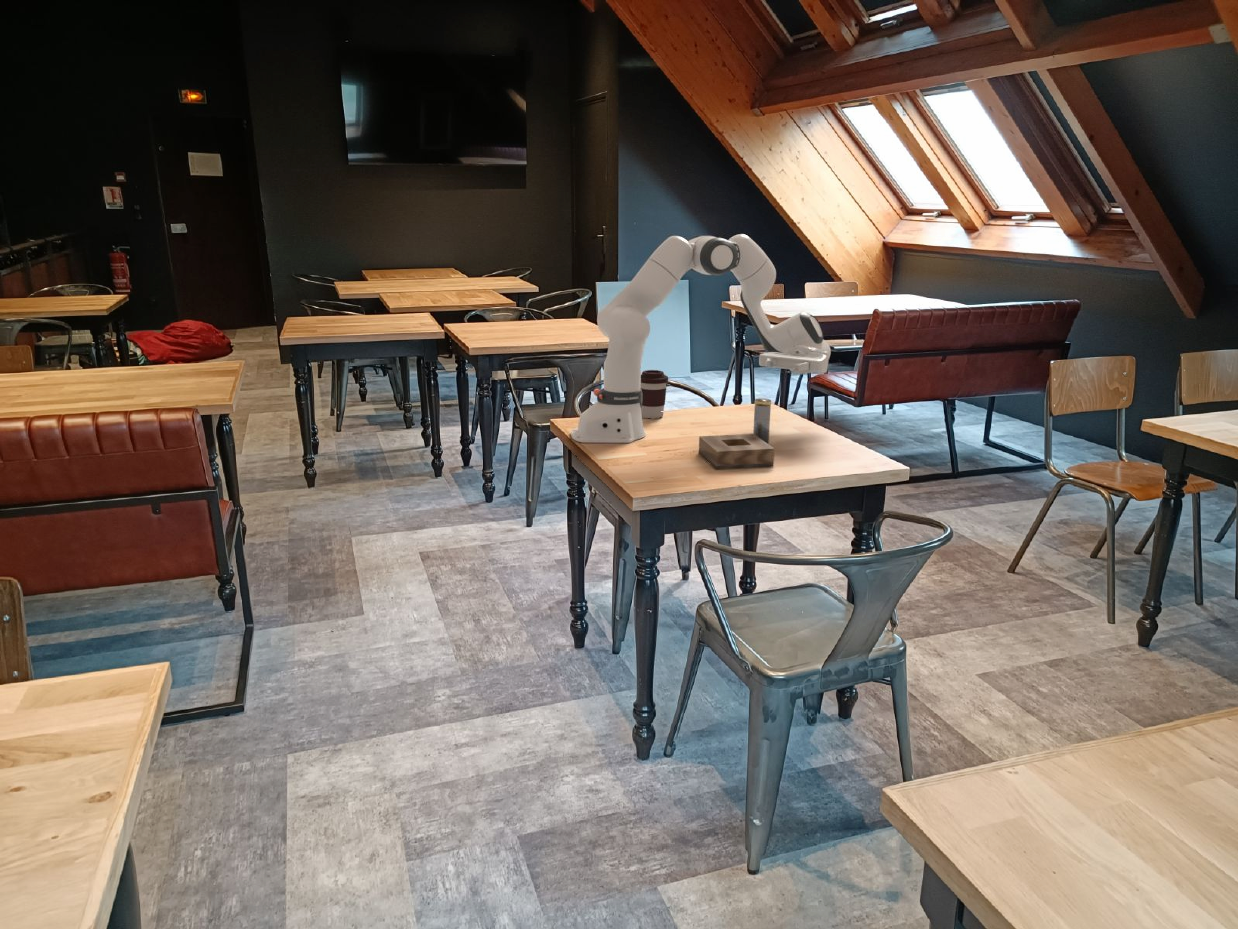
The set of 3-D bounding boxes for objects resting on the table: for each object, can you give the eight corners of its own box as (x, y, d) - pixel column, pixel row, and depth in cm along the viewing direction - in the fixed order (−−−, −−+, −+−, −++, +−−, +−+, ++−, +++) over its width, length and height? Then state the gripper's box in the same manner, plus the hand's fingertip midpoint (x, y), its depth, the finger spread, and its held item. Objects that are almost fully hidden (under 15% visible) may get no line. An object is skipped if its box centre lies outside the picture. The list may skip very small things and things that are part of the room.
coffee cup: (631, 414, 295) (632, 370, 291) (657, 412, 299) (658, 368, 295) (646, 421, 287) (646, 375, 282) (672, 418, 291) (673, 373, 287)
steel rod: (755, 450, 254) (758, 402, 250) (750, 445, 259) (752, 398, 255) (770, 449, 255) (773, 401, 251) (765, 445, 260) (767, 398, 256)
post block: (716, 469, 235) (717, 451, 234) (698, 453, 250) (699, 436, 249) (773, 466, 238) (774, 448, 237) (752, 450, 253) (753, 433, 252)
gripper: (770, 345, 276) (750, 351, 265) (833, 351, 265) (815, 358, 254) (769, 365, 278) (749, 372, 267) (831, 372, 267) (813, 380, 256)
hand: (782, 365), depth 260 cm, fingers open, 8 cm apart
